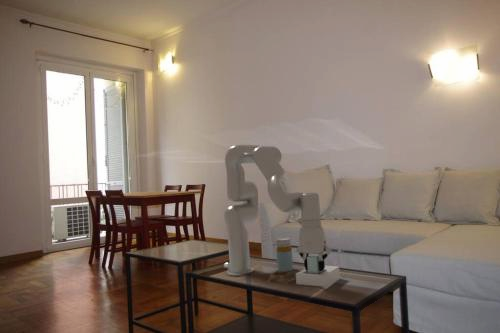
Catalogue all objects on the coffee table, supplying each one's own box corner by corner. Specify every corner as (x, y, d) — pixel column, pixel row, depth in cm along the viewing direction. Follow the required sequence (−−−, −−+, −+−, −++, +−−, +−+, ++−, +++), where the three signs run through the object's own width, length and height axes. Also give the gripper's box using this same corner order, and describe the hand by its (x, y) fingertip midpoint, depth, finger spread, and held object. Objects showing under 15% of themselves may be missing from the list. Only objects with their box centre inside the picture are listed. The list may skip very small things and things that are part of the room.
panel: (296, 286, 152) (295, 273, 153) (312, 276, 166) (311, 264, 166) (325, 289, 146) (324, 275, 146) (340, 278, 160) (339, 265, 160)
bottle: (292, 273, 173) (290, 240, 174) (276, 274, 175) (274, 240, 175) (293, 270, 180) (291, 237, 181) (278, 270, 181) (276, 238, 182)
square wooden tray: (265, 283, 160) (265, 275, 160) (274, 278, 167) (274, 270, 167) (287, 285, 155) (286, 276, 155) (296, 280, 161) (295, 272, 161)
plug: (308, 282, 153) (306, 257, 153) (312, 280, 156) (310, 255, 157) (318, 283, 151) (316, 257, 151) (322, 281, 154) (320, 255, 155)
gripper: (287, 225, 156) (291, 270, 155) (328, 225, 147) (332, 273, 146) (295, 222, 162) (299, 266, 161) (335, 222, 153) (338, 269, 152)
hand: (314, 269), depth 154 cm, fingers open, 5 cm apart
